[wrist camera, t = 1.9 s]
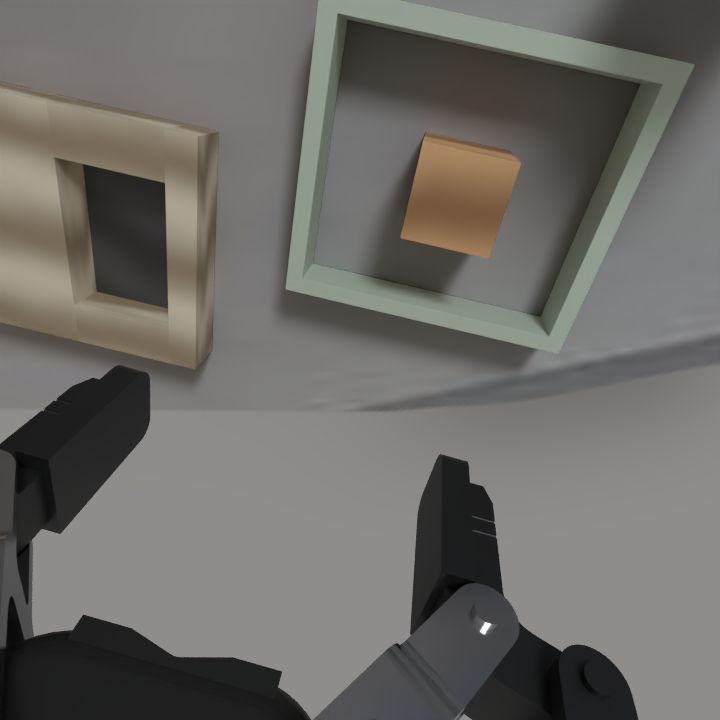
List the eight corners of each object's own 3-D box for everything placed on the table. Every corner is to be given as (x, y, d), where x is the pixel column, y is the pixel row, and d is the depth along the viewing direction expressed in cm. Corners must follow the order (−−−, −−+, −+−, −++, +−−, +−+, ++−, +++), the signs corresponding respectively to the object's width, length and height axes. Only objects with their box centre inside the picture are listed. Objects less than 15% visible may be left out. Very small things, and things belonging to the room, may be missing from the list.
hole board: (-56, 69, 30) (-102, 68, 28) (218, 131, 30) (197, 136, 27) (-4, 298, 39) (-36, 313, 36) (212, 350, 38) (195, 369, 35)
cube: (426, 132, 28) (422, 140, 24) (509, 150, 28) (521, 163, 24) (405, 216, 31) (400, 238, 26) (482, 233, 31) (488, 258, 26)
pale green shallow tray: (332, -7, 25) (320, -17, 23) (668, 66, 25) (695, 64, 22) (297, 273, 34) (285, 289, 31) (549, 332, 33) (558, 353, 31)
